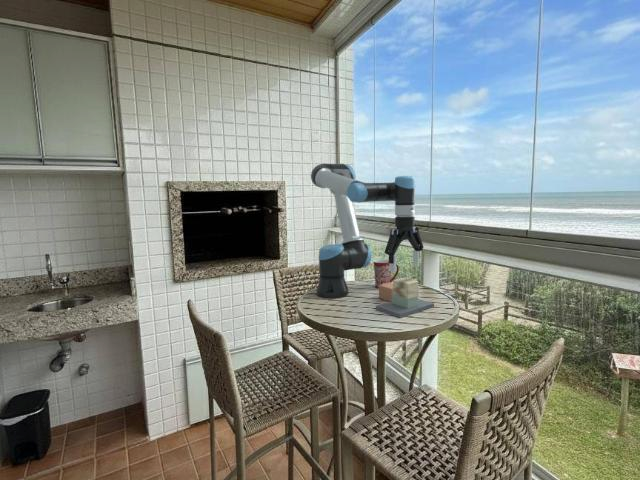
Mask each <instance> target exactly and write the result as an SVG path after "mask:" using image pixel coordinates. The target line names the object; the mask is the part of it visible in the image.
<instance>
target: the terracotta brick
mask: <svg viewBox="0 0 640 480" xmlns="http://www.w3.org/2000/svg"><path fill="white" fill-rule="evenodd" d="M392 294H393V283H386V284H382V285H379V288H378V299H382V300H384V301H387V302H391V301H392Z"/></svg>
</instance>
